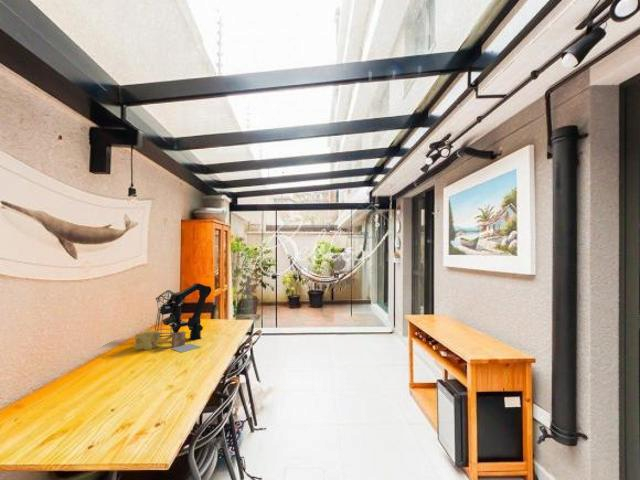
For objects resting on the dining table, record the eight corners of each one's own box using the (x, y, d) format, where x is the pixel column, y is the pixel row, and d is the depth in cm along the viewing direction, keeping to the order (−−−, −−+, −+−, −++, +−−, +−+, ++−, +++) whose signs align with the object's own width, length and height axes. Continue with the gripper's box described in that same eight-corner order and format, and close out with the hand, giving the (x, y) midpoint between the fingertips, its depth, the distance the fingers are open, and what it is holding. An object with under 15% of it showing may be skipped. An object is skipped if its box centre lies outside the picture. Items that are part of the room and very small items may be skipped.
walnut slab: (182, 344, 211) (182, 330, 211) (185, 344, 209) (185, 331, 210) (171, 347, 204) (171, 333, 205) (174, 347, 203) (174, 334, 203)
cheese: (150, 350, 197) (150, 334, 197) (133, 349, 197) (134, 334, 198) (159, 345, 207) (159, 330, 208) (143, 345, 208) (143, 330, 208)
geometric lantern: (156, 335, 231) (159, 288, 233) (178, 334, 236) (181, 288, 238) (151, 341, 216) (154, 291, 218) (175, 340, 221) (178, 291, 223)
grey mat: (189, 343, 211) (189, 343, 211) (200, 347, 205) (200, 346, 205) (170, 349, 200) (170, 348, 200) (181, 352, 193) (181, 352, 193)
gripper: (157, 312, 208) (156, 335, 207) (172, 315, 198) (171, 340, 197) (172, 309, 217) (171, 332, 217) (188, 313, 207) (187, 336, 206)
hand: (175, 335), depth 209 cm, fingers closed
